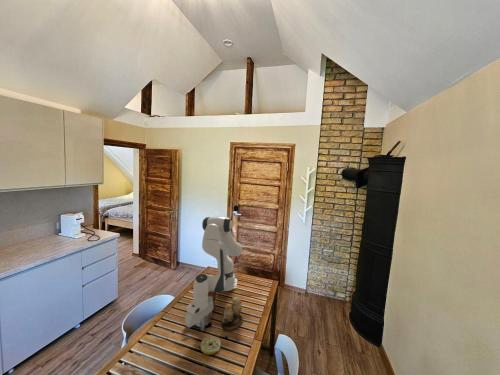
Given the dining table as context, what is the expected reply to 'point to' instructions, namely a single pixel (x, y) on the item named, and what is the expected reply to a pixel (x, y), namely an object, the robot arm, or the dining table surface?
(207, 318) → the tan boxy piece
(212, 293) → the wooden figurine
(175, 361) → the dining table surface
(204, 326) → the lever handle with knob
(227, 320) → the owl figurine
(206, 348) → the decorated donut
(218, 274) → the robot arm
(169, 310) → the dining table surface
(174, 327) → the dining table surface
